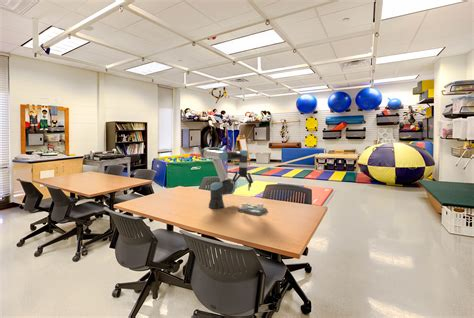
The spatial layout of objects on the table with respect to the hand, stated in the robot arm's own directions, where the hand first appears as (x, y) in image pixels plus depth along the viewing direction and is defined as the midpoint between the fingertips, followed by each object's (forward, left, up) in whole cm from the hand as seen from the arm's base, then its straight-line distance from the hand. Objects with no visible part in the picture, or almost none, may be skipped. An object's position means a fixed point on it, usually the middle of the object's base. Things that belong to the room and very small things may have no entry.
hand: (242, 189), depth 228 cm
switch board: (+10, +2, -19) cm, 22 cm away
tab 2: (+16, +6, -17) cm, 24 cm away
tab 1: (+4, -2, -17) cm, 18 cm away
